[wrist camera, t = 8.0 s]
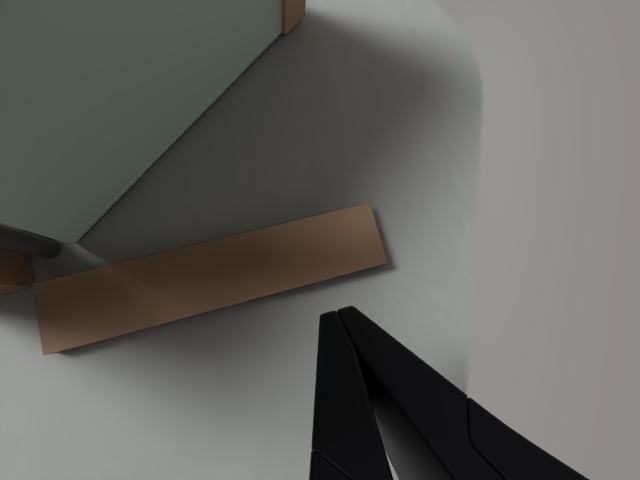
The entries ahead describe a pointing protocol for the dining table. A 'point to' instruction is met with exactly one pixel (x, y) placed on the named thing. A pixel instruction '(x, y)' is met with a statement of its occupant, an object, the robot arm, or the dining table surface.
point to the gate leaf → (111, 94)
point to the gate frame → (187, 275)
